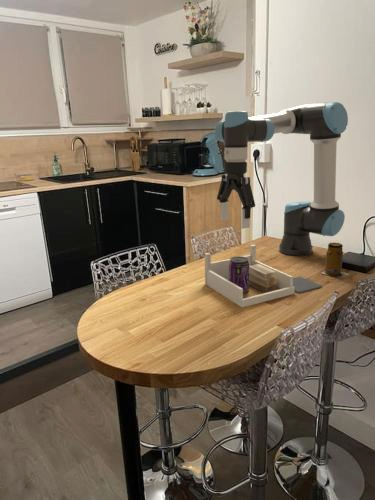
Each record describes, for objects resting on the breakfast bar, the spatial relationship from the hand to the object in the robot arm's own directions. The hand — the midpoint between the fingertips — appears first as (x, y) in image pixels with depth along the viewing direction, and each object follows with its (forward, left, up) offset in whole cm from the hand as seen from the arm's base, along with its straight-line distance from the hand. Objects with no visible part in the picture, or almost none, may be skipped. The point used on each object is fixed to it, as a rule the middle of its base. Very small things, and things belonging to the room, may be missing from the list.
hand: (234, 224), depth 132 cm
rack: (-4, +2, -24) cm, 24 cm away
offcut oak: (-10, +3, -22) cm, 25 cm away
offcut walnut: (-10, +2, -25) cm, 27 cm away
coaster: (-22, +9, -24) cm, 34 cm away
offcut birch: (-10, +3, -20) cm, 22 cm away
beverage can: (0, +2, -24) cm, 24 cm away
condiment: (-42, +7, -24) cm, 49 cm away
